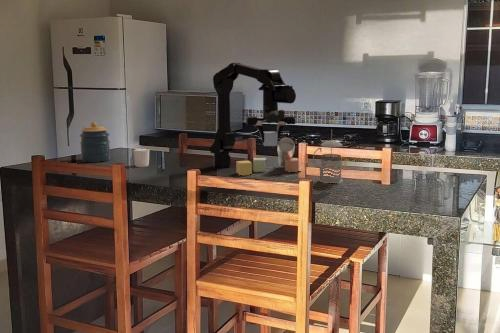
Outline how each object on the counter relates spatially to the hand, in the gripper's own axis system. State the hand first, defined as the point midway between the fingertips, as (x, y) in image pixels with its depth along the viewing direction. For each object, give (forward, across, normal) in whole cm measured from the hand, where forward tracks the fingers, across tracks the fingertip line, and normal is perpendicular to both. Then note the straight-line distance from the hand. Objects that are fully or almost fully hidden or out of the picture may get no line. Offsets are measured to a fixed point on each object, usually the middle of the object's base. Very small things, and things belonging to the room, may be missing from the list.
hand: (270, 142), depth 218 cm
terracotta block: (+13, +10, +6) cm, 18 cm away
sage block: (+13, -3, +9) cm, 16 cm away
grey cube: (+1, 0, 0) cm, 1 cm away
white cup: (+13, -52, +27) cm, 60 cm away
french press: (+13, +20, -14) cm, 28 cm away
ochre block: (+13, -10, +3) cm, 17 cm away
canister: (+13, -74, +43) cm, 87 cm away
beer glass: (+11, +9, +17) cm, 22 cm away
